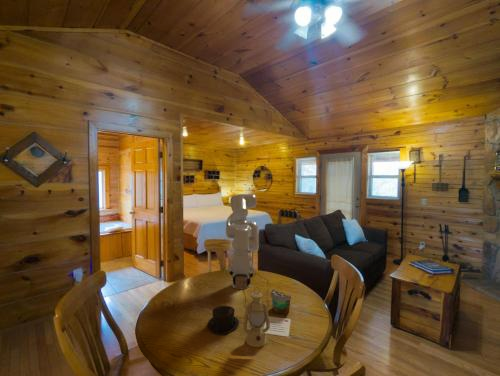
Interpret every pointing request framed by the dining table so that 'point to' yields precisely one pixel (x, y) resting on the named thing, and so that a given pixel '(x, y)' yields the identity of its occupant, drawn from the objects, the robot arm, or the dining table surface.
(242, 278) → the walnut block
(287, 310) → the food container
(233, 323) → the top hat
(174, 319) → the dining table surface
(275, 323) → the letter
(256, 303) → the lantern
